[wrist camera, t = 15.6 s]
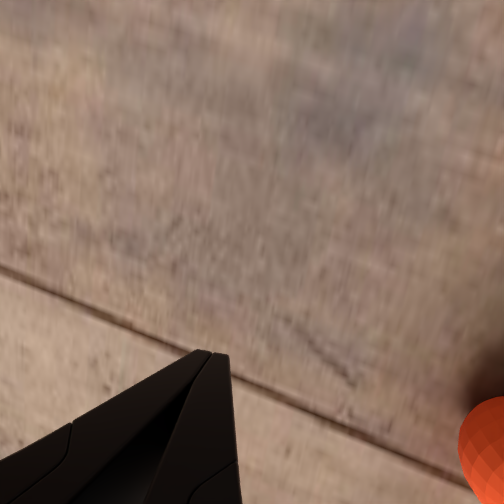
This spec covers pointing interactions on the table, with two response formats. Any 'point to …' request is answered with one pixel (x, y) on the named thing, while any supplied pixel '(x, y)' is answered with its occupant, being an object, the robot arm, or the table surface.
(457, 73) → the table surface
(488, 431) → the clementine
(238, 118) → the table surface
